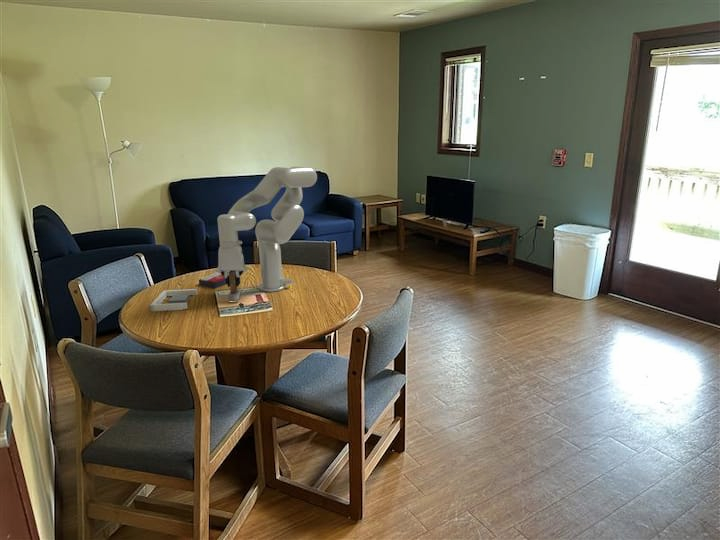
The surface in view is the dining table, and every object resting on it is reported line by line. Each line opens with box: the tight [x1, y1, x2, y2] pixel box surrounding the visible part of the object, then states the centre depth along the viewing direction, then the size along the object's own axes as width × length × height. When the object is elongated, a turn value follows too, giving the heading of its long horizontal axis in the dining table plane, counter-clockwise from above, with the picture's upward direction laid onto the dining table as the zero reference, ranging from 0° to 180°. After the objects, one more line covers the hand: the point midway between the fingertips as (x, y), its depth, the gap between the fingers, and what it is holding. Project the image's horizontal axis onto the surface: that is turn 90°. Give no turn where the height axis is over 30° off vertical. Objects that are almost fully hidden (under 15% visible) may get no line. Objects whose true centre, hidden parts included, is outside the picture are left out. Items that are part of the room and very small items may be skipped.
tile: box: [167, 295, 191, 304], centre depth 213 cm, size 7×7×2 cm
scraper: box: [227, 271, 242, 302], centre depth 212 cm, size 4×8×12 cm, turn 3°
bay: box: [149, 288, 198, 312], centre depth 212 cm, size 14×19×2 cm
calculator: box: [198, 271, 229, 289], centre depth 238 cm, size 11×4×15 cm
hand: (233, 285), depth 213 cm, fingers open, 3 cm apart
